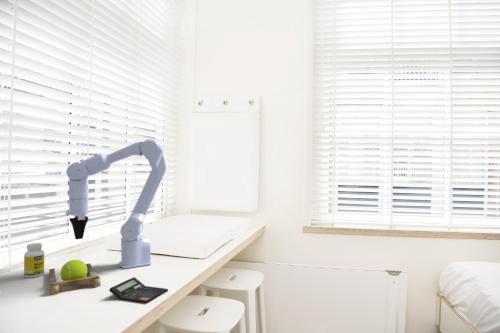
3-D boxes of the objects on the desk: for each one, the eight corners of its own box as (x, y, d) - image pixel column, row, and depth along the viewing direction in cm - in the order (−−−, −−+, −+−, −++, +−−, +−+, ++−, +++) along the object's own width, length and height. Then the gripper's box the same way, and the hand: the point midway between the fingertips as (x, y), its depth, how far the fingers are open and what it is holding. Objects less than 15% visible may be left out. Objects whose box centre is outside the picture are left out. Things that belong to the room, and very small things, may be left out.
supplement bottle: (34, 278, 106) (34, 246, 106) (19, 277, 107) (19, 246, 107) (48, 273, 111) (48, 242, 111) (34, 272, 112) (33, 242, 112)
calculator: (146, 305, 86) (146, 293, 86) (109, 299, 90) (108, 287, 90) (167, 292, 94) (167, 281, 94) (133, 287, 98) (132, 276, 98)
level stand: (90, 267, 117) (90, 260, 117) (100, 286, 98) (100, 277, 98) (48, 274, 110) (48, 266, 110) (50, 295, 92) (50, 286, 92)
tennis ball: (79, 278, 106) (79, 255, 106) (92, 282, 102) (92, 259, 102) (55, 285, 100) (55, 261, 100) (68, 290, 96) (68, 264, 96)
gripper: (63, 197, 121) (63, 236, 121) (67, 201, 109) (67, 244, 109) (85, 196, 125) (85, 234, 125) (91, 199, 112) (92, 241, 112)
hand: (79, 238), depth 117 cm, fingers closed
